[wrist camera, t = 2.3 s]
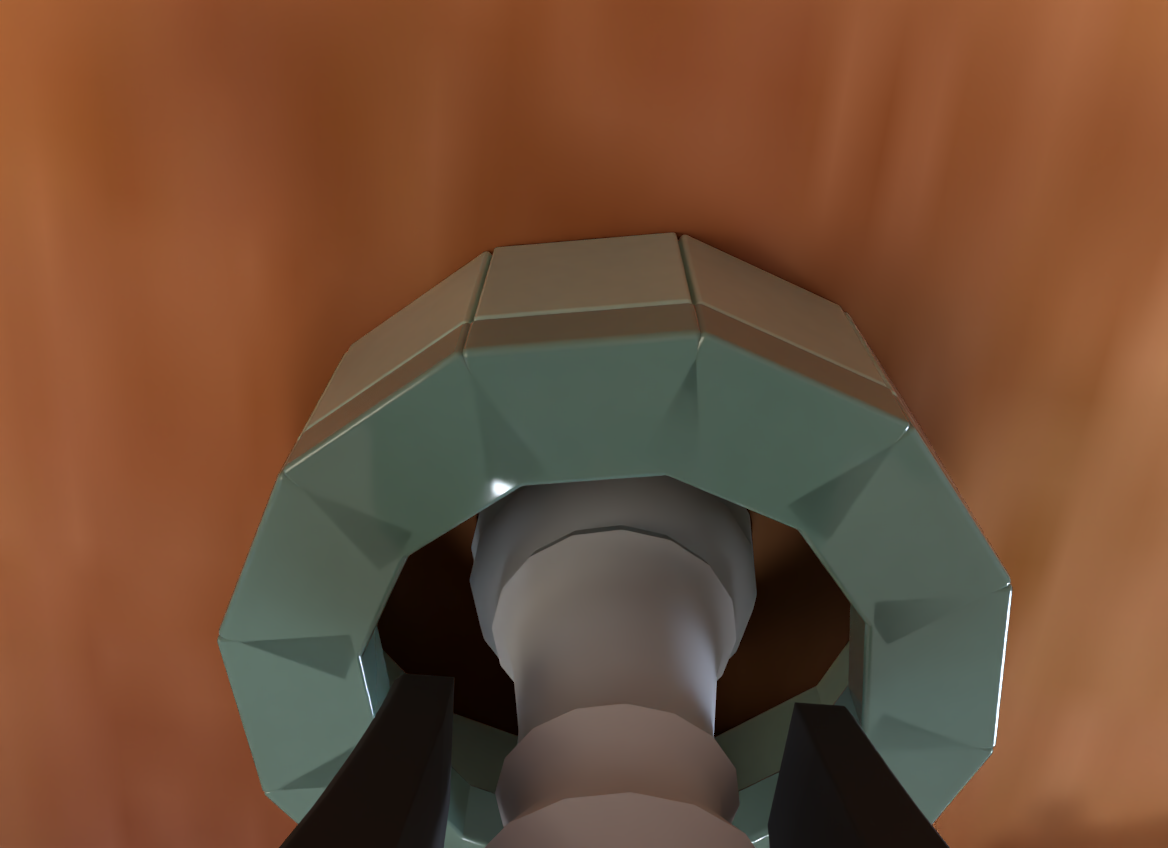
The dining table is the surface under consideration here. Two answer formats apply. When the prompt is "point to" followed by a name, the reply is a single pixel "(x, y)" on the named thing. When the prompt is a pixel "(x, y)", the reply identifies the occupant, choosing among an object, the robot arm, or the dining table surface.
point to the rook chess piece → (615, 659)
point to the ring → (613, 451)
